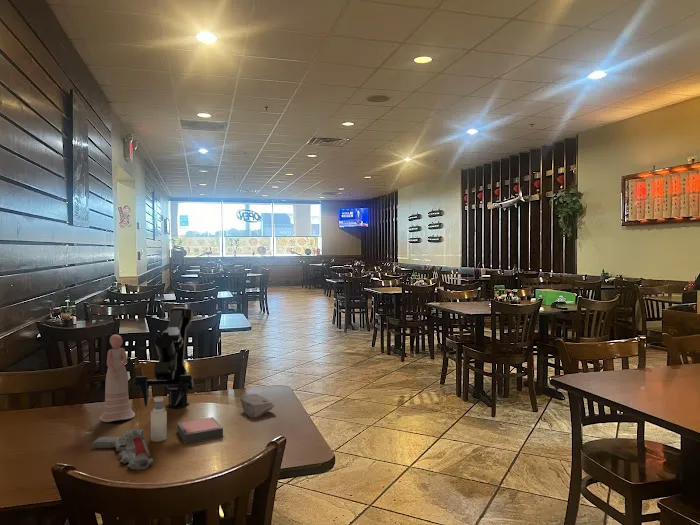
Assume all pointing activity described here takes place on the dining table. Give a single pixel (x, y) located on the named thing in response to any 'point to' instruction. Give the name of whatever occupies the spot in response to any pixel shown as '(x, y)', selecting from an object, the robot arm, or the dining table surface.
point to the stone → (255, 405)
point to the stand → (199, 430)
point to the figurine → (116, 384)
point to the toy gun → (128, 448)
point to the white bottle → (158, 421)
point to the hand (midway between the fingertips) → (160, 405)
